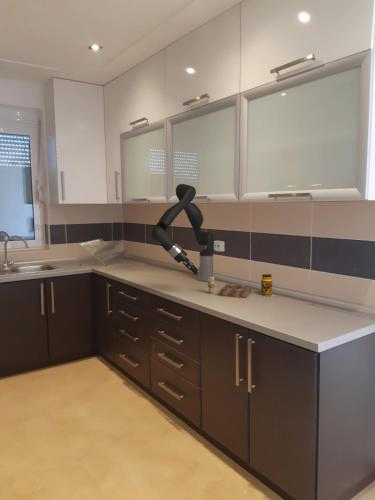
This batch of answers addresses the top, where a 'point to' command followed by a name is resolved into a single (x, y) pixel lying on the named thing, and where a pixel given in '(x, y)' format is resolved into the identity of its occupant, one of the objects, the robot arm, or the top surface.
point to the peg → (211, 284)
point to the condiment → (266, 285)
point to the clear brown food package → (236, 291)
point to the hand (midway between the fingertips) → (197, 272)
